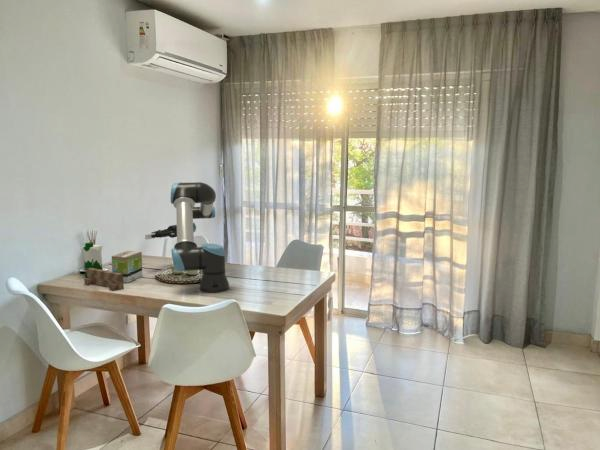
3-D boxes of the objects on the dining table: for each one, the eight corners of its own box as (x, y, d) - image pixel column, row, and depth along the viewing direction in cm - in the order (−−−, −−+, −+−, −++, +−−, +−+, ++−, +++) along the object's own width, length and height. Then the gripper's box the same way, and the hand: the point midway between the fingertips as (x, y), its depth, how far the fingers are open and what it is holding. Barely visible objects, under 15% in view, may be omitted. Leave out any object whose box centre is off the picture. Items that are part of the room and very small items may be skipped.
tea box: (128, 283, 257) (127, 256, 254) (112, 282, 259) (110, 256, 256) (143, 276, 271) (141, 251, 269) (127, 275, 273) (125, 250, 271)
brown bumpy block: (123, 288, 247) (122, 273, 246) (115, 291, 242) (114, 276, 241) (91, 281, 260) (90, 267, 258) (82, 284, 255) (81, 269, 254)
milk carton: (82, 277, 268) (79, 243, 265) (94, 274, 276) (92, 240, 273) (94, 279, 265) (91, 244, 261) (106, 275, 273) (104, 241, 270)
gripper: (183, 237, 292) (154, 244, 271) (168, 235, 298) (138, 242, 278) (183, 225, 290) (153, 231, 270) (167, 224, 297) (137, 229, 277)
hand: (146, 237), depth 274 cm, fingers closed
